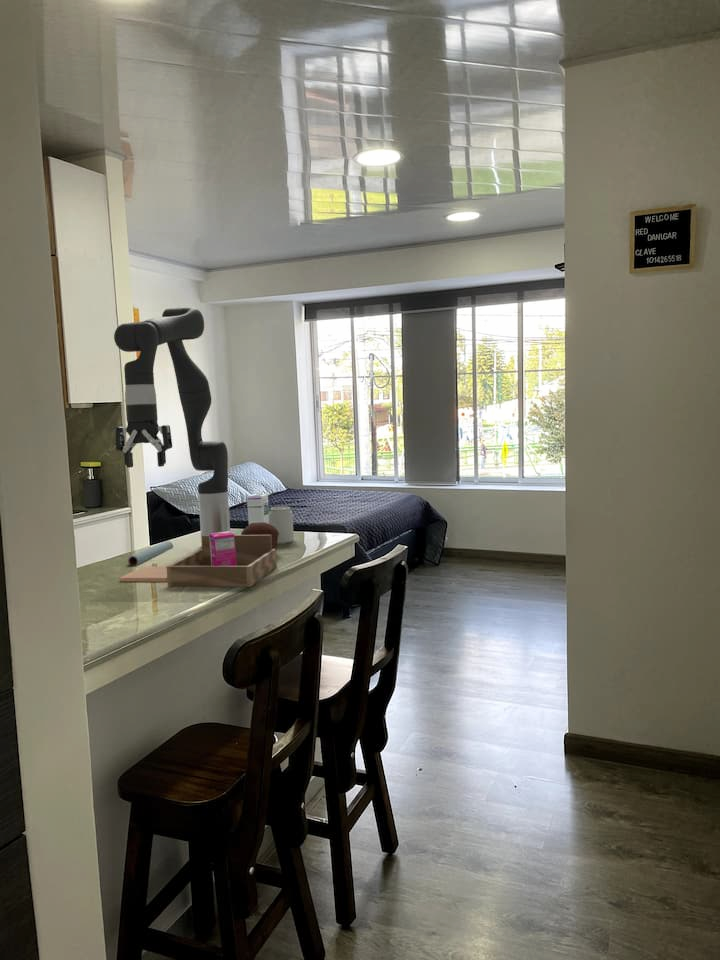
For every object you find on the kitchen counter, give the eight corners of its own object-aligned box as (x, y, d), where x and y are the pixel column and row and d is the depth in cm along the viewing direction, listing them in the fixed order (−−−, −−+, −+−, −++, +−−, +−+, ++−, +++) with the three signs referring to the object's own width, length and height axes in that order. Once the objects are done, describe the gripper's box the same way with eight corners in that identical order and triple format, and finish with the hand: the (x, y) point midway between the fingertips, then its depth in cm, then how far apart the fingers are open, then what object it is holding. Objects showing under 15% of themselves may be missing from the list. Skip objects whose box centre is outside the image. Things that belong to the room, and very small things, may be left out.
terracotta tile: (142, 570, 208) (142, 566, 208) (186, 570, 206) (186, 566, 205) (119, 581, 195) (119, 577, 195) (166, 581, 193) (166, 577, 193)
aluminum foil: (163, 551, 237) (163, 540, 237) (183, 551, 236) (182, 540, 236) (127, 567, 215) (127, 555, 215) (149, 567, 214) (148, 555, 214)
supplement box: (211, 575, 198) (208, 533, 197) (233, 572, 201) (230, 530, 199) (215, 579, 193) (213, 536, 192) (238, 576, 195) (235, 533, 194)
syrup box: (265, 538, 252) (263, 495, 250) (248, 538, 253) (246, 495, 251) (270, 535, 257) (268, 493, 256) (254, 535, 258) (252, 493, 257)
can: (273, 542, 243) (272, 505, 242) (296, 541, 242) (294, 505, 241) (267, 546, 236) (265, 509, 235) (290, 546, 235) (289, 508, 234)
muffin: (234, 560, 217) (232, 526, 216) (250, 552, 228) (249, 520, 227) (272, 561, 214) (270, 526, 213) (286, 553, 224) (285, 520, 223)
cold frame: (201, 566, 209) (199, 535, 209) (276, 566, 205) (275, 534, 205) (167, 586, 188) (165, 550, 187) (251, 586, 184) (249, 550, 183)
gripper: (173, 401, 191) (177, 465, 192) (122, 404, 193) (126, 466, 195) (160, 402, 183) (165, 467, 185) (107, 404, 186) (112, 468, 187)
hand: (145, 466), depth 190 cm, fingers open, 8 cm apart
